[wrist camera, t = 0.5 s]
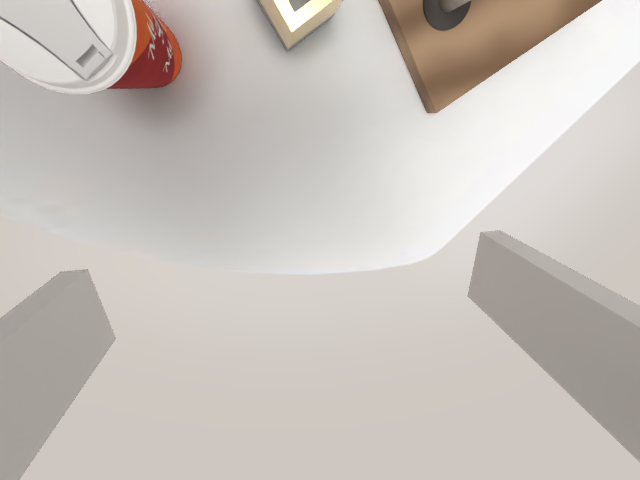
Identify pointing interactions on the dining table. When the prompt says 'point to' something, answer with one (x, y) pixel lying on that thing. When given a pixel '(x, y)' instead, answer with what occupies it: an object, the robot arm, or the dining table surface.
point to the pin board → (470, 39)
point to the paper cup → (87, 44)
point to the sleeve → (297, 18)
